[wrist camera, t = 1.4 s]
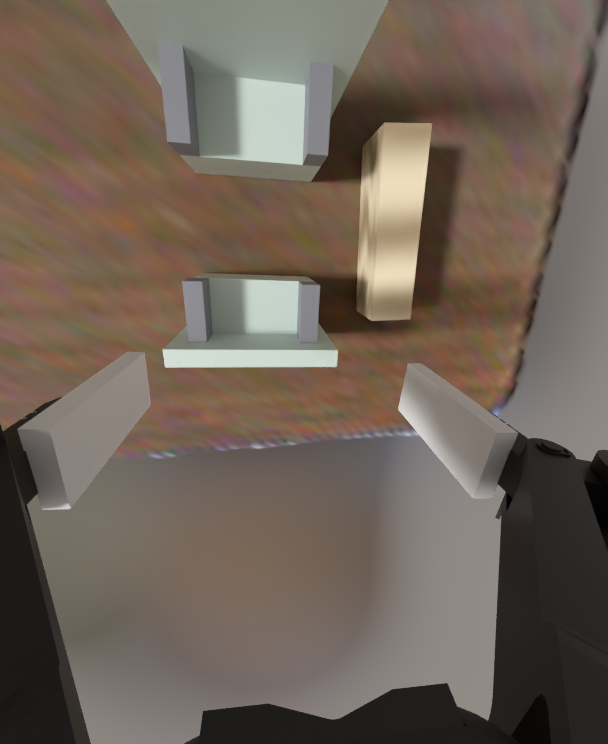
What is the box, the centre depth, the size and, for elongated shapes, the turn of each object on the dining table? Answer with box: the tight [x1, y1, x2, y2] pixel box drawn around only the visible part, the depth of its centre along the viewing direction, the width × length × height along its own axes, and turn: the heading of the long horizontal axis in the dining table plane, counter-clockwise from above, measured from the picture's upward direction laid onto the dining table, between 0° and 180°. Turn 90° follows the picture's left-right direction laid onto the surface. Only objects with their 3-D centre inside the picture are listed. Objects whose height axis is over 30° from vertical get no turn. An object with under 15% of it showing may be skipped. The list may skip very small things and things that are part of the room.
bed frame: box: [106, 0, 389, 367], centre depth 22 cm, size 22×14×20 cm, turn 178°
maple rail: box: [356, 123, 432, 321], centre depth 30 cm, size 16×4×6 cm, turn 1°
